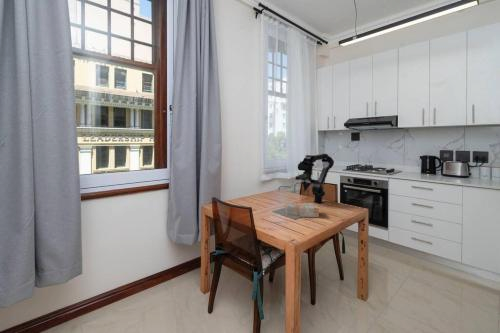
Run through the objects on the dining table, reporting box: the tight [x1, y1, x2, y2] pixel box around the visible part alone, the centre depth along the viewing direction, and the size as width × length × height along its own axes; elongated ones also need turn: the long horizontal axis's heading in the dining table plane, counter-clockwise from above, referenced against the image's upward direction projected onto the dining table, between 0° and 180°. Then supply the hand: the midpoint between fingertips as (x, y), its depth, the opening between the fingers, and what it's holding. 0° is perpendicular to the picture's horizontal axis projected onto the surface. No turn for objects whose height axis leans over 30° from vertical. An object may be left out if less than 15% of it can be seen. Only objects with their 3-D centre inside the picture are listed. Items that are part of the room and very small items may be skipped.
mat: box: [271, 207, 303, 220], centre depth 171 cm, size 14×22×1 cm, turn 38°
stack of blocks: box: [285, 202, 320, 218], centre depth 168 cm, size 21×6×12 cm
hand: (305, 190), depth 191 cm, fingers closed
